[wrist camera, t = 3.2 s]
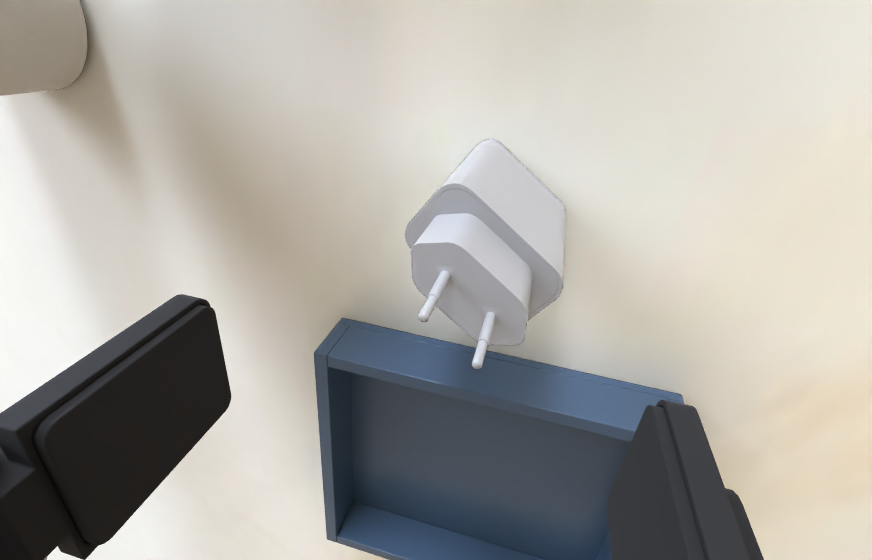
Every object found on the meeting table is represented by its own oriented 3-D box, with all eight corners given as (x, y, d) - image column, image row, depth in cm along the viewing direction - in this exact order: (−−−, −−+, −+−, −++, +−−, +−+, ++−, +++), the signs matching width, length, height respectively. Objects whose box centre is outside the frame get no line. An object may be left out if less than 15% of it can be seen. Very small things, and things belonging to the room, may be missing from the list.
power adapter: (489, 131, 20) (405, 229, 10) (572, 213, 21) (573, 381, 11) (445, 180, 22) (334, 307, 12) (524, 255, 23) (485, 435, 12)
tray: (681, 394, 24) (698, 446, 21) (597, 573, 33) (600, 629, 30) (341, 317, 28) (313, 352, 25) (347, 497, 36) (326, 539, 33)
